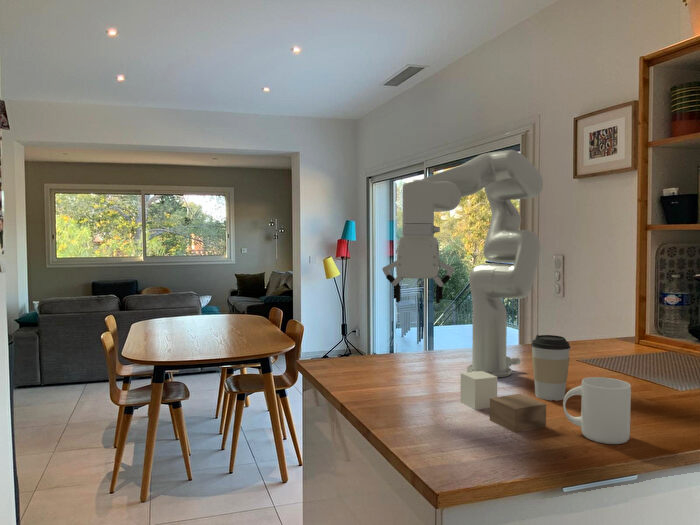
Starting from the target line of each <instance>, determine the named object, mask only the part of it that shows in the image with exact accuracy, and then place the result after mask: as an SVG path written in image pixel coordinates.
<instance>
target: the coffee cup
mask: <svg viewBox="0 0 700 525" xmlns="http://www.w3.org/2000/svg"><path fill="white" fill-rule="evenodd" d="M566 339H567V338H565V337H564V336H561V335H552V334H540V335H539V334H536V336H535V338H534V339H533V340H532V341H531V342H532V343H531V344H530V345H531V348H532V350H531V351H532V354H531V357H532V358H531V359H532V361H531V362H532V371H533V373H532V374H533V379H534V393H535V397H537V398H538V399H541V400H544V399H545V400H546V401H552V400H555V401H562V400H564V397H565V395H566V389H567V382H568V375H569V374H568V373H569V364H570V349H571V345H570V343H569V341H567V340H566Z"/></svg>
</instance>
